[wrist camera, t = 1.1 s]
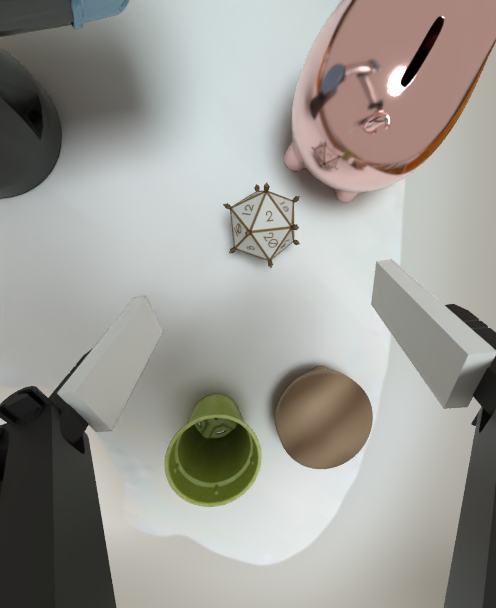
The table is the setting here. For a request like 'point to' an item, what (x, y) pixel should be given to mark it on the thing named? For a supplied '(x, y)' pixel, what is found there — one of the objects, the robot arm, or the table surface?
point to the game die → (263, 224)
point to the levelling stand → (323, 418)
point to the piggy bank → (386, 88)
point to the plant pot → (213, 454)
